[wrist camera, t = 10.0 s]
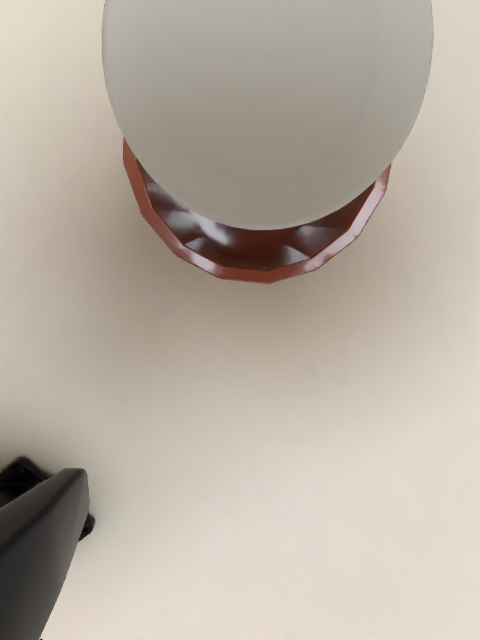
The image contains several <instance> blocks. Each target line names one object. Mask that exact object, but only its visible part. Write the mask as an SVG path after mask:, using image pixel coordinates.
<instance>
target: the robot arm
mask: <svg viewBox="0 0 480 640" xmlns="http://www.w3.org/2000/svg"><path fill="white" fill-rule="evenodd" d="M19 466H21V467H22V468H20V467H19ZM88 510H89V490H88V478H87V473H86V471H85V470H84V469H82V468H66V469H63V470H61V471H60V472H58V473H57V474H55V475H53V476H52V477H50V478H47V477H45V476H44V475H43V474H42V473H41V472H40V471H39V470H38V469H37V468H36V467H34V466H33V465H32V464H31V463H30V462H29V461H28V460H26V459H25V458H17V459H16V460H14V461H13V462H12V463H11V464H9V465H8V466H7V467H6V468H4V469H3V470H2V471H1V472H0V640H39V638H40V636H41V634H42V632H43V629H44V627H45V625H46V623H47V621H48V618H49V616H50V614H51V612H52V610H53V608H54V605H55V603H56V601H57V598H58V596H59V594H60V591H61V589H62V586H63V583H64V580H65V578H66V575H67V572H68V569H69V566H70V563H71V560H72V558H73V555H74V552H75V549H76V546H77V543H78V542H79V541H80V540H81V539H83V538H84V537H86V536H87V535H88V534H90V533H91V532H92V530H93V528H94V525H95V523H94V520H93V519H92V518H91V517H90V516H89V515H87V514H88ZM84 525H86V526H84ZM40 640H43V639H40Z"/></svg>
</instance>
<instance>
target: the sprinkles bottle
mask: <svg viewBox="0 0 480 640" xmlns="http://www.w3.org/2000/svg"><path fill="white" fill-rule="evenodd" d="M432 48H433V16H432V5H431V0H105V4H104V13H103V22H102V59H103V67H104V75H105V83H106V88H107V92H108V95H109V99H110V102H111V105H112V108H113V111H114V114H115V117H116V119H117V122H118V124H119V127H120V129H121V131H122V133H123V136H124V138H125V140H126V142H127V143H128V145H129V147H130V149H131V150H132V152H133V153H134V155H135V156H136V158H137V159H138V161H139V162H140V163H141V165H142V166H143V168H144V169H145V170H146V172H147V173H148V174H149V175H150V176H151V177H152V179H153V180H154V181H155V182H156V183H157V184H158V185H159V186H160V187H162V188H163V189H164V190H165V191H166V192H167V193H168V194H169V195H170V196H171V197H173V198H174V199H175V200H177V201H178V202H179V203H181V204H182V205H184V206H185V207H187V208H188V209H190V210H192V211H193V212H195V213H197V214H199V215H201V216H203V217H205V218H208V219H210V220H213V221H215V222H218V223H221V224H224V225H227V226H231V227H236V228H243V229H250V230H275V229H284V228H289V227H294V226H298V225H302V224H306V223H310V222H312V221H315V220H318V219H320V218H322V217H324V216H327V215H329V214H331V213H333V212H335V211H337V210H339V209H340V208H342V207H343V206H345V205H346V204H348V203H349V202H351V201H352V200H353V199H355V198H356V197H357V196H359V195H360V194H361V193H362V192H363V191H365V190H366V189H367V188H368V187H369V186H370V185H371V184H372V183H373V182H374V181H375V180H376V179H377V178H378V177H379V176H380V175H381V174H382V173H383V172H384V171H385V169H386V168H387V167H388V166H389V164H390V163H391V162H392V161H393V159H394V157H395V156H396V154H397V153H398V151H399V150H400V148H401V147H402V145H403V143H404V142H405V140H406V138H407V136H408V135H409V133H410V131H411V128H412V126H413V124H414V122H415V120H416V117H417V115H418V112H419V110H420V107H421V104H422V101H423V98H424V94H425V91H426V86H427V82H428V77H429V72H430V66H431V59H432Z"/></svg>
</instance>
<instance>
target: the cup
mask: <svg viewBox="0 0 480 640" xmlns="http://www.w3.org/2000/svg"><path fill="white" fill-rule="evenodd" d="M123 161H124V166H125V169H126V172H127V175H128V178H129V181H130V183H131V186H132V189H133V192H134V195H135V198H136V200H137V203H138V206H139V209H140V212H141V214H143V215H142V216H143V217H144V218H145V220H146V221H147V222H148V223H149V224H150V226H151V227H152V228H153V229H154V230H155V231H156V233H157V234H158V235H159V236H160V237H161V239H162V240H163V241H164V242H165V243H166V244H167V246H168V247H169V248H170V249H171V250H172V252H173V253H174V254H175V255H177V256H178V257H180V258H182V259H183V260H185V261H187V262H189V263H191V264H193V265H195V266H197V267H198V268H200V269H202V270H204V271H206V272H208V273H210V274H211V275H213V276H215V277H217V278H220V279H225V280H234V281H244V282H253V283H263V284H268V283H269V284H271V283H274V282H277V281H281V280H284V279H288V278H291V277H295V276H298V275H301V274H305V273H308V272H312V271H315V270H316V269H318V268H320V267H321V266H322V265H324V264H325V263H326V262H327V261H329V260H330V259H331V258H333V257H334V256H335V255H336V254H338V253H339V252H340V251H342V250H343V249H344V248H345V247H347V246H348V245H349V244H351V243H352V242H353V241H354V240H356V238H357V237H358V236H359V235H360V233H361V231H362V230H363V228H364V226H365V225H366V223H367V222H368V220H369V218H370V217H371V215H372V213H373V212H374V210H375V209H376V207H377V205H378V204H379V202H380V200H381V199H382V197H383V195H384V194H385V191H386V188H387V183H388V178H389V173H390V168H391V163H392V162H391V163H390V164H389V166H388V167H387V168H386V169H385V171H384V172H383V173H382V174H381V175H380V176H379V177H378V178H377V179H376V180H375V181H374V182H373V183H372V184H371V185H370V186H369V187H368V188H367V189H366V190H365V191H363V192H362V193H361V194H360V195H359V196H357V197H356V198H355V199H353V200H352V201H351V202H349V203H348V204H346V205H345V206H343V207H342V208H340V209H339V210H337V211H335V212H333V213H331V214H329V215H327V216H324V217H322V218H320V219H318V220H315V221H312V222H310V223H306V224H302V225H298V226H294V227H289V228H284V229H275V230H250V229H243V228H236V227H231V226H227V225H224V224H221V223H218V222H215V221H213V220H210V219H208V218H205V217H203V216H201V215H199V214H197V213H195V212H193V211H192V210H190V209H188V208H187V207H185V206H184V205H182V204H181V203H179V202H178V201H177V200H175V199H174V198H173V197H171V196H170V195H169V194H168V193H167V192H166V191H165V190H164V189H163V188H162V187H160V186H159V185H158V184H157V183H156V182H155V181H154V180H153V179H152V177H151V176H150V175H149V174H148V173H147V172H146V170H145V169H144V168H143V166H142V165H141V163H140V162H139V161H138V159H137V158H136V156H135V155H134V153H133V152H132V150H131V149H130V147H129V145H128V143H127V142H126V140H125V138H124V139H123Z"/></svg>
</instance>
